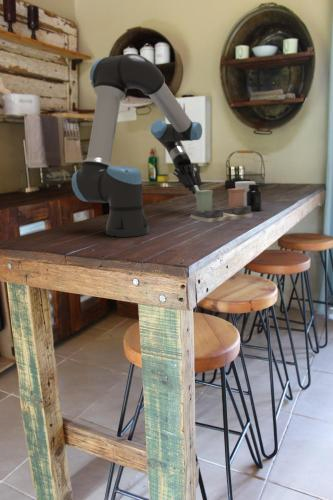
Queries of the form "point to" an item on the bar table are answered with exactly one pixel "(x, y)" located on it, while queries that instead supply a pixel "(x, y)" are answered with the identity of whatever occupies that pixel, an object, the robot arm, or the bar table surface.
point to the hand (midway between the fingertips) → (200, 198)
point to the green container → (204, 200)
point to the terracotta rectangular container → (236, 197)
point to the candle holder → (244, 186)
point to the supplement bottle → (254, 197)
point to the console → (222, 214)
